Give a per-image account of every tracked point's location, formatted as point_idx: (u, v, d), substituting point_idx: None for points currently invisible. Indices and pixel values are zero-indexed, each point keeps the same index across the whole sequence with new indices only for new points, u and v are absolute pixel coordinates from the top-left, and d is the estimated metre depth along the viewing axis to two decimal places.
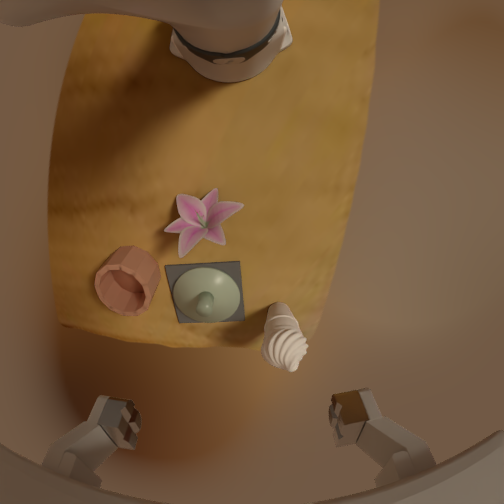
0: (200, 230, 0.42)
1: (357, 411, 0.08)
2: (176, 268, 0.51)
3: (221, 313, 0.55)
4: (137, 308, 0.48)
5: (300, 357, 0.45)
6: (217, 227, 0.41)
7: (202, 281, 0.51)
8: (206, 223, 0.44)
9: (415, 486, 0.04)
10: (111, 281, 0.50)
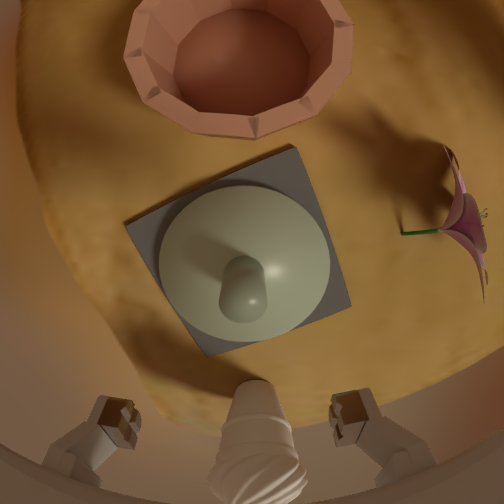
0: (465, 232, 0.15)
1: (357, 411, 0.08)
2: (299, 178, 0.19)
3: (210, 317, 0.22)
4: None
5: None
6: None
7: (290, 253, 0.20)
8: None
9: (415, 486, 0.04)
10: (202, 11, 0.13)
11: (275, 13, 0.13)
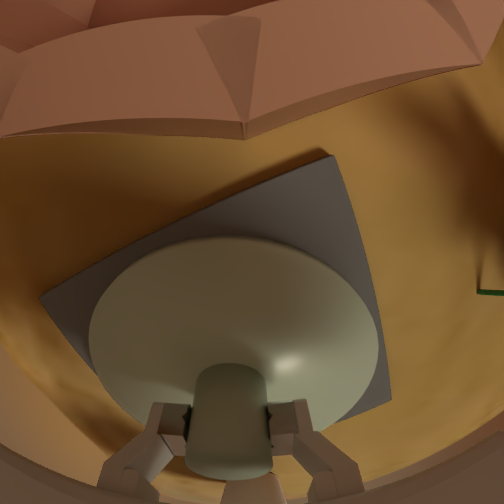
0: None
1: (287, 422, 0.08)
2: (339, 220, 0.09)
3: None
4: None
5: None
6: None
7: (313, 356, 0.10)
8: None
9: (415, 486, 0.04)
10: None
11: None
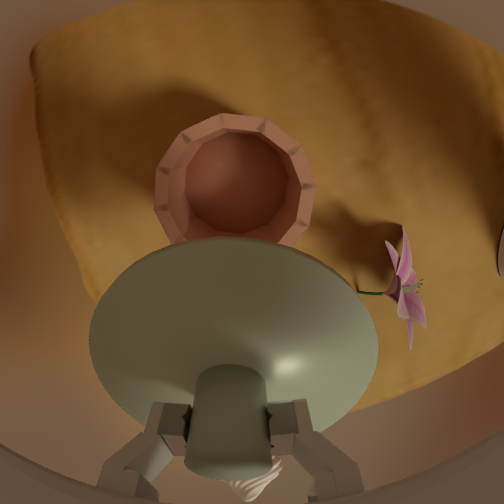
0: None
1: (287, 422, 0.08)
2: None
3: None
4: (188, 236, 0.20)
5: None
6: (410, 320, 0.24)
7: (313, 357, 0.10)
8: None
9: (415, 486, 0.04)
10: (205, 141, 0.21)
11: (262, 140, 0.22)
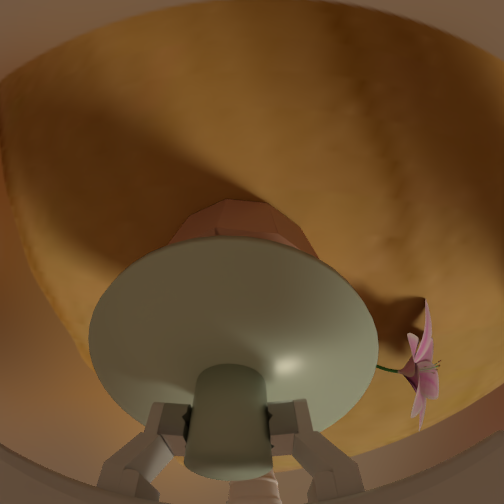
0: (415, 383, 0.20)
1: (287, 422, 0.08)
2: None
3: None
4: None
5: None
6: (423, 399, 0.20)
7: (313, 356, 0.10)
8: None
9: (415, 486, 0.04)
10: None
11: None
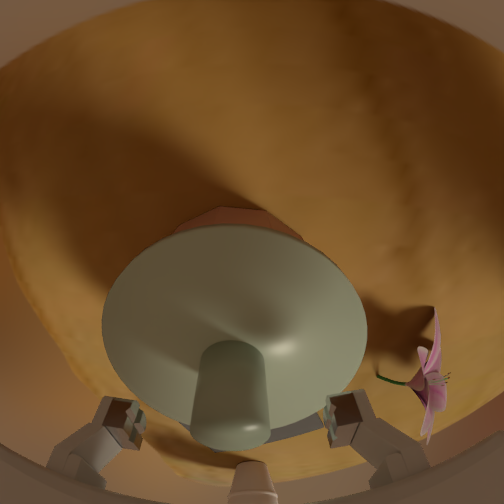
0: (423, 396, 0.18)
1: (351, 412, 0.08)
2: None
3: (188, 409, 0.14)
4: None
5: None
6: (431, 412, 0.18)
7: (307, 334, 0.12)
8: None
9: (415, 486, 0.04)
10: None
11: None
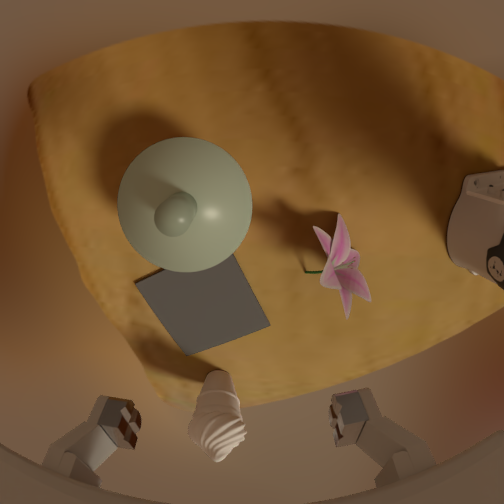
0: None
1: (357, 411, 0.08)
2: (229, 258, 0.35)
3: (158, 249, 0.26)
4: None
5: None
6: (348, 293, 0.31)
7: (216, 187, 0.24)
8: None
9: (415, 486, 0.04)
10: None
11: None
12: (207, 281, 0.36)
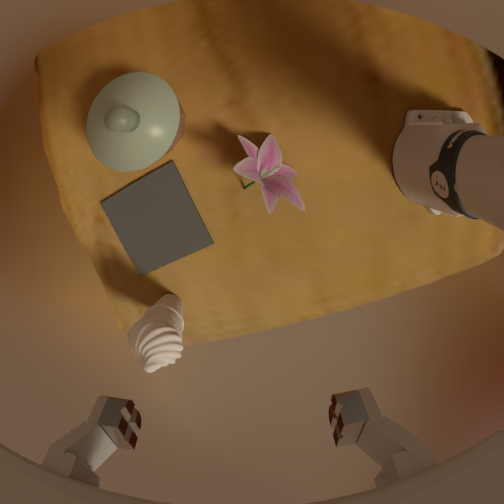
0: None
1: (357, 411, 0.08)
2: (175, 175, 0.39)
3: (110, 154, 0.30)
4: None
5: (160, 366, 0.35)
6: (274, 195, 0.34)
7: (154, 103, 0.28)
8: (262, 179, 0.37)
9: (415, 486, 0.04)
10: None
11: None
12: (157, 197, 0.40)
